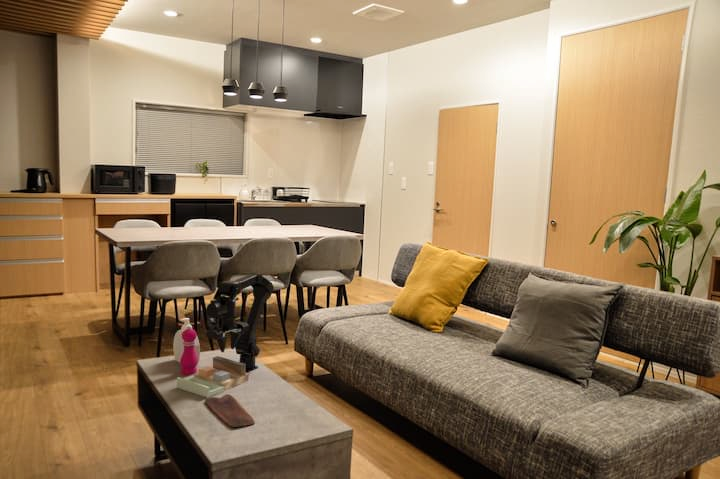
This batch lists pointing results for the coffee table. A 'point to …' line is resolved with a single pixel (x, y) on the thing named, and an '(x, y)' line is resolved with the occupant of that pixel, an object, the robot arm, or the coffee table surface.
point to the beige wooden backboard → (228, 383)
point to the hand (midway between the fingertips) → (227, 350)
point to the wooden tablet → (230, 410)
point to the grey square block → (221, 376)
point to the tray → (199, 387)
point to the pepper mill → (189, 352)
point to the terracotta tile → (206, 371)
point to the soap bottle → (178, 342)
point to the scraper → (229, 366)
